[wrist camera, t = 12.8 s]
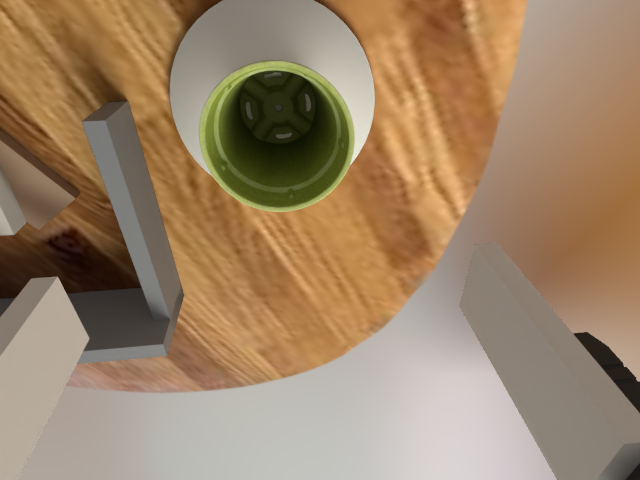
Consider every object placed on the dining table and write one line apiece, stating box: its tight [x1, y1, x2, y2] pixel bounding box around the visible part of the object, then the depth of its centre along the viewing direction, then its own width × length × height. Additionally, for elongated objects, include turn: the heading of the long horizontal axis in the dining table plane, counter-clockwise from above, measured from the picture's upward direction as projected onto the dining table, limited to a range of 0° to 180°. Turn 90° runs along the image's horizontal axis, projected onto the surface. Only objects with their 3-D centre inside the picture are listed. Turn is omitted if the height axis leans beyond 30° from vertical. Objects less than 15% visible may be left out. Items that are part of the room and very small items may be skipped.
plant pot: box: [199, 60, 355, 212], centre depth 27 cm, size 9×9×9 cm
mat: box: [170, 0, 375, 176], centre depth 31 cm, size 16×16×1 cm
